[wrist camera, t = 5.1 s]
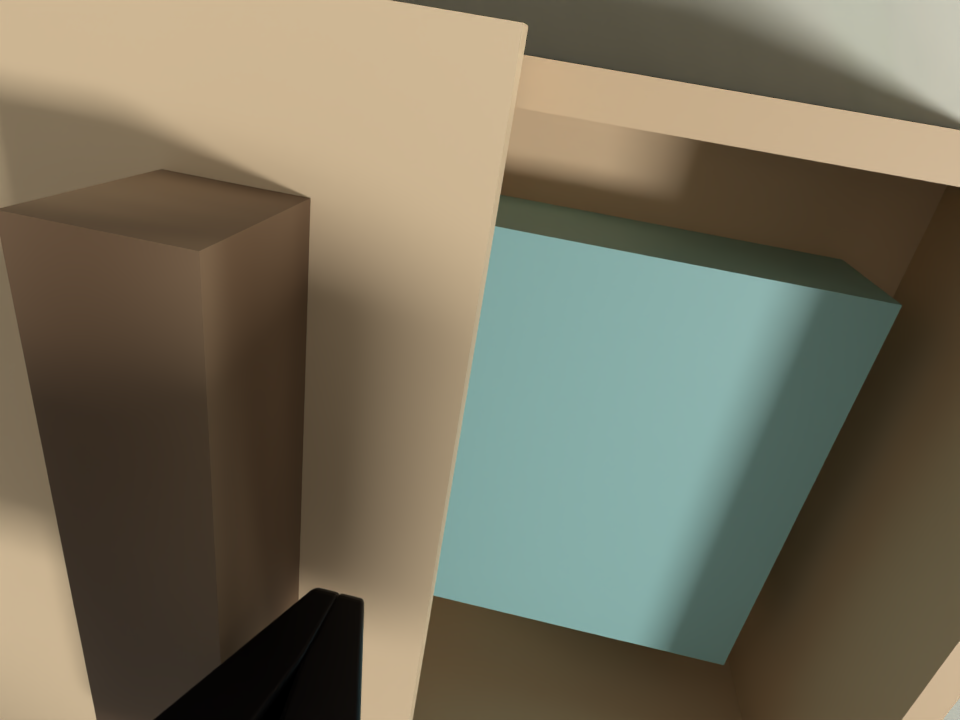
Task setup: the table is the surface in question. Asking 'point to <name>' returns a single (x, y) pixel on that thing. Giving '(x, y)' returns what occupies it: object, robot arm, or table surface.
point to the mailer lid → (233, 329)
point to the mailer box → (707, 416)
